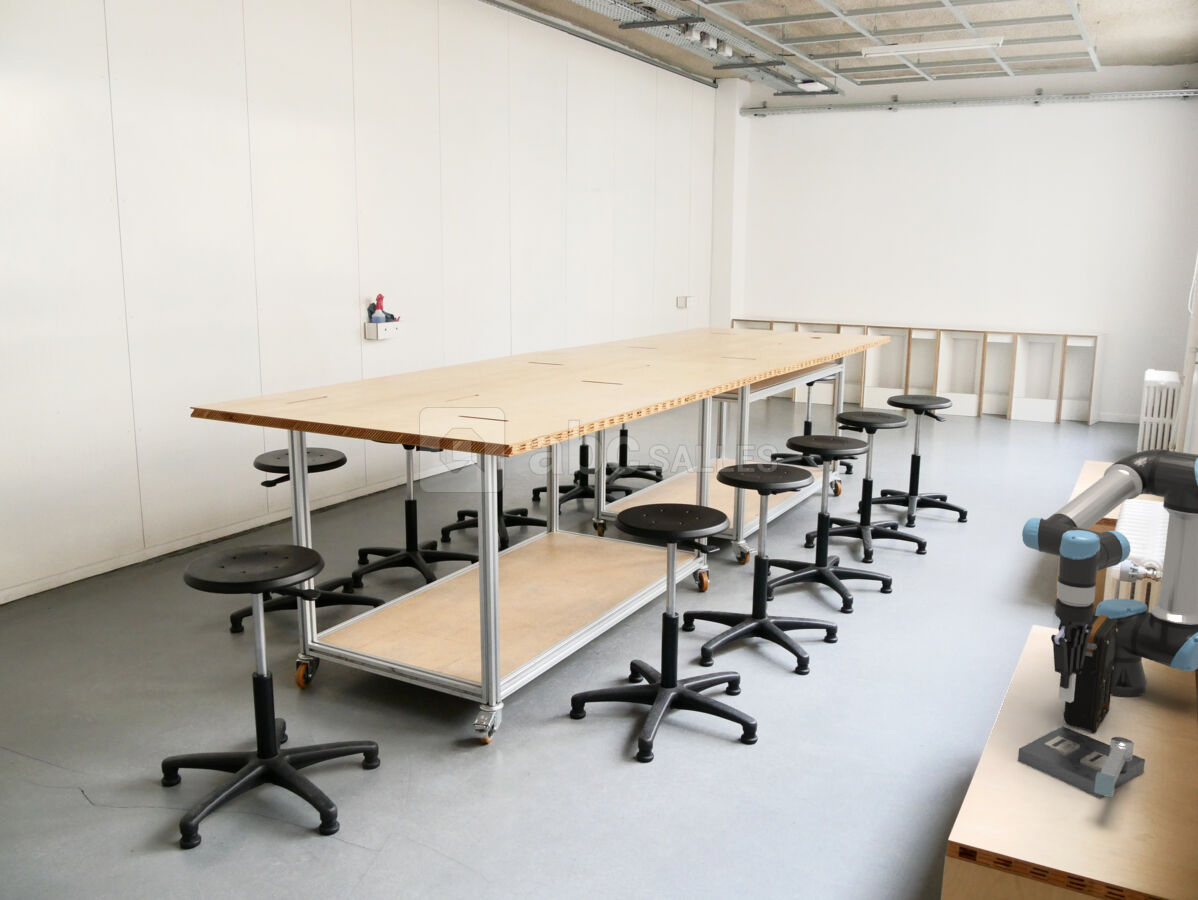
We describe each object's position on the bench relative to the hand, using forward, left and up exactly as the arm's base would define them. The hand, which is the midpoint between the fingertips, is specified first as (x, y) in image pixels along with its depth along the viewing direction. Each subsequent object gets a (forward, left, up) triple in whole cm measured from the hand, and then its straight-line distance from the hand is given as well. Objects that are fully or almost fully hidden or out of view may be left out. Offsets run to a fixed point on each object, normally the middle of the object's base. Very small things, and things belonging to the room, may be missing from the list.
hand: (1066, 699), depth 215 cm
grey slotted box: (0, +5, -14) cm, 15 cm away
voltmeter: (-23, -6, -15) cm, 28 cm away
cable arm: (+8, +15, -8) cm, 19 cm away
